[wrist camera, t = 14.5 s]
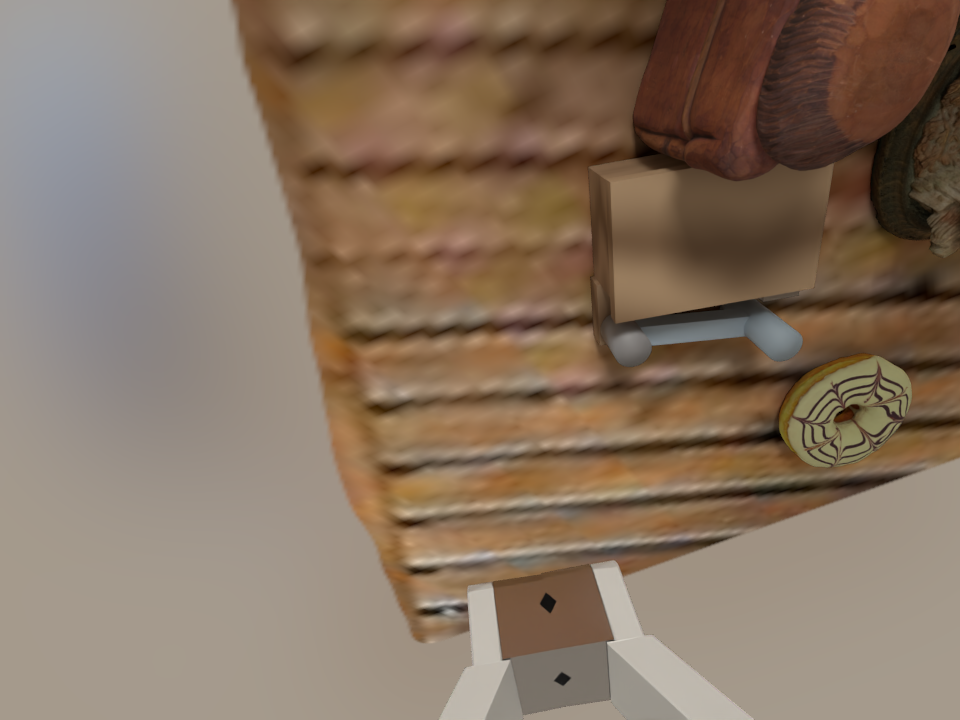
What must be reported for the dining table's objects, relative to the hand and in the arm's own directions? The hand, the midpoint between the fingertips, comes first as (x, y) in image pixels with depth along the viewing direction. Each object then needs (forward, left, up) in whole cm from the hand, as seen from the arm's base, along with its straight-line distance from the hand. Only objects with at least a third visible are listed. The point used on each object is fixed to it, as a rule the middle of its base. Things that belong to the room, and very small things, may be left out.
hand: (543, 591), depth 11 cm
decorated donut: (+23, +30, -32) cm, 49 cm away
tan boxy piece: (+5, +15, -31) cm, 35 cm away
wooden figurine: (-7, +16, -31) cm, 36 cm away
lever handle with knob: (+11, +15, -31) cm, 36 cm away
